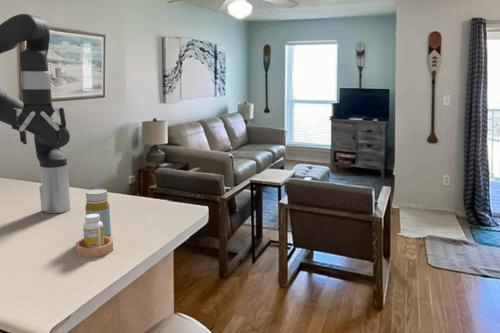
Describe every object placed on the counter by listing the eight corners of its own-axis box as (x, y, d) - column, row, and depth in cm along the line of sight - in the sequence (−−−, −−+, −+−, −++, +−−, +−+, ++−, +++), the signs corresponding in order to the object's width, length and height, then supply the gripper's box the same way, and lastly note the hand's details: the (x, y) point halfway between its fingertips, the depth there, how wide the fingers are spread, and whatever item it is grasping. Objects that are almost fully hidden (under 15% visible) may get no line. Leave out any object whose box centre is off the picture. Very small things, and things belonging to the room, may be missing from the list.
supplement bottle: (96, 242, 130) (94, 211, 128) (108, 246, 127) (106, 214, 125) (80, 248, 126) (78, 216, 124) (92, 252, 123) (89, 219, 121)
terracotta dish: (69, 255, 123) (68, 247, 122) (88, 242, 132) (87, 234, 132) (102, 258, 121) (101, 250, 121) (119, 245, 131) (118, 237, 130)
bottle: (91, 233, 140) (88, 188, 137) (113, 233, 141) (110, 188, 138) (84, 241, 133) (81, 194, 130) (108, 241, 134) (105, 194, 131)
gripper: (6, 88, 120) (12, 146, 123) (62, 88, 124) (66, 144, 128) (10, 87, 126) (16, 142, 130) (63, 87, 131) (67, 140, 134)
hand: (41, 143), depth 129 cm, fingers open, 8 cm apart
